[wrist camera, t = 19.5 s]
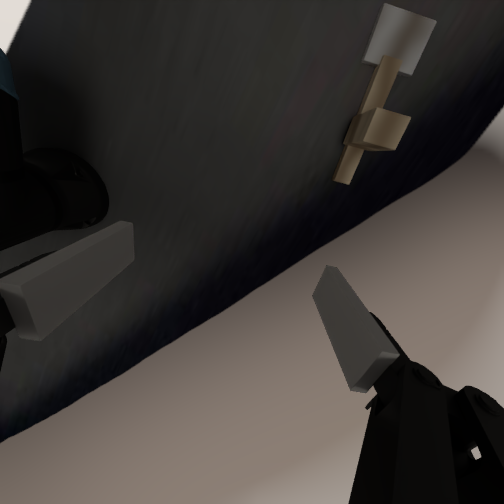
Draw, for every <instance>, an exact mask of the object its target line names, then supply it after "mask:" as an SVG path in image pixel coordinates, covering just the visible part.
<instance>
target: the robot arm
mask: <svg viewBox="0 0 504 504" xmlns="http://www.w3.org/2000/svg"><path fill="white" fill-rule="evenodd" d="M17 100H19V96H18V95H17V94H16V91H15V86H14V80H13V75H12V69H11V64H10V62H9V59H8V58H7V56H6V55H5V53H4V52H3V51H2V49H1V48H0V251H1V250H4V249H7V248H9V247H12V246H14V245H17V244H19V243H22V242H25V241H27V240H30V239H32V238H35V237H37V236H40V235H42V234H45V233H47V232H50V231H53V230H75V229H84V228H87V227H90V226H92V225H95V224H97V223H99V222H100V221H101V220H102V219H103V218H104V217H105V215H106V213H107V210H108V194H107V191H106V188H105V186H104V184H103V182H102V180H101V178H100V177H99V175H98V174H97V173H96V171H95V170H94V169H93V168H92V167H91V166H90V165H89V164H88V163H87V162H85V161H84V160H83V159H81V158H80V157H78V156H77V155H75V154H73V153H71V152H68V151H65V150H61V149H54V148H38V149H33V150H30V151H27V152H25V153H23V152H22V143H21V133H20V122H19V112H18V102H17ZM134 260H135V257H134V235H133V223H130V222H125V221H118V222H116V223H114V224H112V225H110V226H108V227H106V228H104V229H102V230H100V231H98V232H96V233H94V234H92V235H90V236H87V237H85V238H83V239H81V240H79V241H77V242H75V243H73V244H71V245H69V246H67V247H65V248H63V249H61V250H59V251H53V252H49V253H46V254H42V255H40V256H38V257H35V258H33V259H31V260H30V261H27V262H25V263H22V264H20V265H19V266H16V267H14V268H12V269H10V270H7V271H5V272H3V273H1V274H0V371H1V367H2V362H3V358H4V353H5V349H6V345H7V338H6V335H5V334H6V333H8V332H9V331H11V330H12V329H13V328H16V330H17V333H18V335H19V337H20V338H23V339H29V340H36V341H42V340H43V339H44V338H45V337H46V336H47V335H49V334H50V333H51V332H52V331H53V330H54V329H56V328H57V327H58V326H59V325H60V324H61V323H62V322H64V321H65V320H66V319H67V318H68V317H69V316H71V315H72V314H73V313H74V312H75V311H76V310H77V309H79V308H80V307H81V306H82V305H83V304H84V303H86V302H87V301H88V300H89V299H90V298H91V297H93V296H94V295H95V294H96V293H97V292H98V291H99V290H101V289H102V288H103V287H104V286H105V285H106V284H108V283H109V282H110V281H111V280H112V279H113V278H114V277H116V276H117V275H118V274H119V273H120V272H121V271H123V270H124V269H125V268H126V267H127V266H128V265H129V264H131V263H132V262H133V261H134ZM312 296H313V299H314V301H315V304H316V306H317V309H318V311H319V314H320V316H321V319H322V321H323V324H324V326H325V329H326V331H327V334H328V336H329V339H330V341H331V344H332V346H333V349H334V351H335V353H336V356H337V358H338V361H339V364H340V366H341V368H342V371H343V373H344V376H345V378H346V381H347V383H348V386H349V388H350V391H356V392H362V393H367V392H368V390H369V389H370V388H371V387H372V386H374V388H375V390H376V392H377V395H376V396H375V397H374V398H373V399H372V400H371V401H370V402H369V403H368V404H367V406H366V407H365V408H366V409H367V410H368V409H369V408H370V407H371V411H370V415H369V419H368V424H367V428H366V432H365V436H364V441H363V445H362V449H361V454H360V457H359V462H358V466H357V470H356V474H355V478H354V483H353V487H352V492H351V496H350V500H349V504H504V408H503V407H502V406H500V405H499V404H498V403H497V401H496V400H494V399H493V398H492V397H490V396H489V395H488V394H486V393H484V392H482V391H481V390H479V389H477V388H475V387H472V386H465V387H464V388H462V389H461V390H460V391H459V392H458V391H455V390H453V389H451V388H449V387H446V386H444V385H442V383H441V382H440V380H439V379H438V378H437V377H436V376H435V375H434V374H433V373H432V372H431V371H429V370H428V369H427V368H426V367H424V366H423V365H420V364H419V363H417V362H413V361H411V360H410V359H409V358H408V356H407V355H406V354H405V353H404V351H403V350H402V349H401V347H400V346H399V344H398V343H397V342H396V341H395V339H394V338H393V337H392V336H391V334H390V333H389V331H388V330H386V327H385V326H384V325H383V323H382V322H381V321H380V320H379V319H378V318H377V317H376V316H375V315H374V314H373V313H371V312H369V311H368V310H367V308H366V307H365V306H364V304H363V303H362V302H361V300H360V299H359V297H358V296H357V295H356V293H355V292H354V290H353V289H352V288H351V286H350V285H349V284H348V282H347V281H346V279H345V278H344V277H343V275H342V274H341V272H340V271H339V270H338V268H337V267H332V266H328V265H326V268H325V270H324V272H323V274H322V277H321V278H320V281H319V282H318V285H317V287H316V289H315V291H314V293H313V295H312ZM477 446H478V449H479V451H480V453H481V458H479V459H477V460H475V458H474V457H473V454H472V452H471V450H472V449H473V448H475V447H477Z"/></svg>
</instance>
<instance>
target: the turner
mask: <svg viewBox="0 0 504 504" xmlns="http://www.w3.org/2000/svg"><path fill="white" fill-rule="evenodd" d="M436 22H437V21H435V20H432V19H429V18H427V17H424V16H421V15H418V14H415V13H412V12H409V11H406V10H404V9H401V8H398V7H395V6H392V5H389V4H386V3H384V4H383V6H382V7H381V8H380V11H379V14H378V16H377V19H376V22H375V25H374V27H373V30H372V33H371V36H370V38H369V41H368V44H367V47H366V49H365V52H364V55H363V58H362V60H361V63H363V64H366V65H369V66H373V67H375V70H374V72H373V75H372V78H371V80H370V83H369V85H368V88H367V90H366V93H365V95H364V98H363V101H362V103H361V106H360V108H359V111H358V113H357V115H356V116H354V117H353V119H352V122H351V124H350V127H349V130H348V132H347V135H346V137H345V140H344V142H343V144H345V147H344V149H343V152H342V154H341V157H340V159H339V162H338V164H337V167H336V170H335V172H334V175H333V177H332V180H333V181H337V182H341V183H345V184H350V181H351V179H352V177H353V174H354V172H355V170H356V168H357V165H358V163H359V161H360V158H361V156H362V154H363V151H364V150H368V151H384V150H395V149H396V147H397V145H398V143H399V141H400V139H401V137H402V135H403V133H404V131H405V129H406V127H407V125H408V123H409V121H410V119H411V117H408V116H405V115H401V114H398V113H395V112H391V111H388V110H385V109H382V108H383V105H384V103H385V101H386V99H387V96H388V94H389V92H390V89H391V87H392V85H393V82H394V80H395V78H396V75H397V74H398V75H401V76H404V77H409V76H411V75H412V74H413V72H414V69H415V67H416V65H417V63H418V61H419V59H420V56H421V54H422V52H423V50H424V48H425V46H426V43H427V41H428V39H429V37H430V35H431V33H432V30H433V28H434V26H435V24H436Z"/></svg>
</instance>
